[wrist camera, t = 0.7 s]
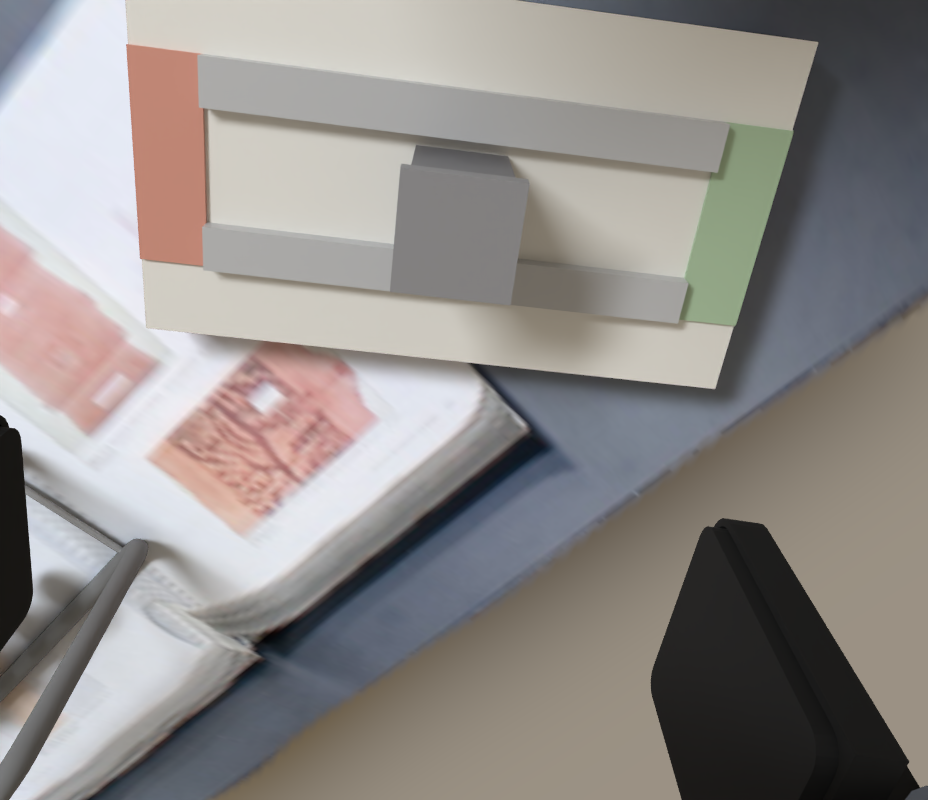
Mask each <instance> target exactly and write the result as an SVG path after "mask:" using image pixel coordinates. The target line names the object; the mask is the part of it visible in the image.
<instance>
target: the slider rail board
mask: <svg viewBox="0 0 928 800" xmlns="http://www.w3.org/2000/svg"><path fill="white" fill-rule="evenodd" d="M125 2H126V18H127V34H128V44H126V46H127V62H128V77H129V93H130V108H131V124H132V139H133V155H134V170H135V186H136V201H137V217H138V232H139V248H140V259H142V269H143V285H144V301H145V316H146V328H150V329H159V330H168V331H178V332H187V333H196V334H206V335H215V336H224V337H234V338H243V339H252V340H262V341H271V342H280V343H290V344H299V345H308V346H318V347H327V348H336V349H346V350H355V351H364V352H374V353H383V354H392V355H402V356H411V357H420V358H430V359H439V360H448V361H458V362H467V363H476V364H486V365H495V366H504V367H514V368H523V369H532V370H542V371H551V372H560V373H570V374H579V375H588V376H598V377H607V378H616V379H626V380H635V381H644V382H654V383H663V384H672V385H682V386H691V387H700V388H710V389H715V388H716V384H717V381H718V378H719V374H720V371H721V368H722V364H723V361H724V358H725V354H726V351H727V348H728V344H729V341H730V338H731V334H732V331H733V327H734V326H736V323H737V320H738V317H739V313H740V310H741V307H742V303H743V300H744V297H745V293H746V290H747V287H748V283H749V280H750V277H751V273H752V270H753V267H754V263H755V260H756V257H757V253H758V250H759V247H760V243H761V240H762V236H763V233H764V230H765V226H766V223H767V220H768V216H769V213H770V210H771V206H772V203H773V200H774V196H775V193H776V190H777V186H778V183H779V180H780V176H781V173H782V170H783V166H784V163H785V160H786V156H787V153H788V150H789V146H790V143H791V140H792V136H793V133H794V131H792V130H793V126H794V123H795V119H796V116H797V113H798V109H799V106H800V103H801V99H802V96H803V93H804V89H805V86H806V83H807V79H808V76H809V73H810V69H811V66H812V62H813V59H814V56H815V52H816V49H817V46H818V42H814V41H807V40H799V39H792V38H785V37H778V36H771V35H763V34H756V33H749V32H742V31H734V30H727V29H720V28H713V27H706V26H698V25H691V24H684V23H677V22H669V21H662V20H655V19H648V18H641V17H633V16H626V15H619V14H612V13H604V12H597V11H590V10H583V9H576V8H568V7H561V6H554V5H547V4H539V3H532V2H525V1H518V0H125ZM416 145H421V146H429V147H437V148H445V149H453V150H461V151H469V152H477V153H485V154H493V155H501V156H508V157H509V160H510V163H511V166H512V169H513V172H514V175H515V178H523V179H528V181H529V183H530V186H529V192H528V198H527V204H526V211H525V217H524V223H523V230H522V236H521V242H520V249H519V255H518V261H517V268H516V274H515V280H514V286H513V293H512V299H511V305H501V304H493V303H484V302H475V301H466V300H457V299H448V298H439V297H430V296H421V295H413V294H404V293H395V292H390V284H391V272H392V260H393V248H394V237H395V225H396V213H397V201H398V189H399V177H400V167H401V164H409V165H411V164H412V159H413V155H414V151H415V147H416Z"/></svg>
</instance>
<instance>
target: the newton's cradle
mask: <svg viewBox="0 0 928 800" xmlns="http://www.w3.org/2000/svg"><path fill="white" fill-rule="evenodd" d="M25 494H26V495H28V496H29V497H31V498H33V499H34V500H36V501H37V502H39V503H40V504H42V505H44V506H45V507H47V508H48V509H50V510H51V511H53V512H55V513H56V514H58V515H59V516H61V517H62V518H64V519H66V520H67V521H69V522H70V523H72V524H73V525H75V526H77V527H78V528H80V529H81V530H83V531H85V532H86V533H88V534H89V535H91V536H92V537H94V538H96V539H97V540H99V541H100V542H102V543H103V544H105V545H107V546H108V547H110V548H111V549H113V550H114V551H116V552H118V553H117V554H116V555H115V556H114V557H113V558H112V559H111V560H110V561H109V563H108V564H107V565H106V566H105V567H104V568H103V569H102V570H101V571H100V572H99V573H98V574H97V575H96V576H95V577H94V578H93V580H92V581H91V582H90V583H89V584H88V585H87V586H86V587H85V588H84V589H83V590H82V591H81V592H80V593H79V594H78V595H77V596H76V598H75V599H74V600H73V601H72V602H71V603H70V604H69V605H68V606H67V607H66V608H65V609H64V610H63V611H62V612H61V613H60V615H59V616H58V617H57V618H56V619H55V620H54V621H53V622H52V623H51V624H50V625H49V626H48V627H47V628H46V629H45V630H44V631H43V633H42V634H41V635H40V636H39V637H38V638H37V639H36V640H35V641H34V642H33V643H32V644H31V645H30V646H29V647H28V648H27V649H26V651H25V652H24V653H23V654H22V655H21V656H20V657H19V658H18V659H17V660H16V661H15V662H14V663H13V664H12V665H11V666H10V668H9V669H8V670H7V671H6V672H5V673H4V674H3V675H2V676H1V677H0V702H1V701H2V700H3V699H4V698H5V697H6V696H7V695H8V694H9V693H10V692H11V691H12V690H13V689H14V688H15V687H16V686H17V684H18V683H19V682H20V681H21V680H22V679H23V678H24V677H25V676H26V675H27V674H28V673H29V672H30V671H31V670H32V669H33V668H34V667H35V666H36V665H37V664H38V663H39V662H40V661H41V660H42V658H43V657H44V656H45V655H46V654H47V653H48V652H49V651H50V650H51V649H52V648H53V647H54V646H55V645H56V644H57V643H58V642H59V641H60V640H61V639H62V638H63V637H64V636H65V635H66V634H67V632H68V631H69V630H70V629H71V628H72V627H73V626H74V625H75V624H76V623H77V622H78V621H79V620H80V619H81V618H82V617H83V616H84V615H85V614H86V613H87V612H88V611H89V610H90V609H91V608H92V606H93V605H94V604H95V605H94V606H93V608H92V610H91V612H90V613H89V615H88V617H87V618H86V620H85V622H84V624H83V625H82V627H81V629H80V630H79V632H78V634H77V635H76V637H75V639H74V641H73V642H72V644H71V646H70V647H69V649H68V651H67V653H66V654H65V656H64V658H63V659H62V661H61V663H60V664H59V666H58V668H57V670H56V671H55V673H54V675H53V676H52V678H51V680H50V682H49V683H48V685H47V687H46V688H45V690H44V692H43V693H42V695H41V697H40V699H39V700H38V702H37V704H36V705H35V707H34V709H33V711H32V712H31V714H30V716H29V717H28V719H27V721H26V722H25V724H24V726H23V728H22V729H21V731H20V733H19V734H18V736H17V738H16V740H15V741H14V743H13V745H12V746H11V748H10V750H9V751H8V753H7V754H6V756H5V758H4V759H3V761H2V762H1V764H0V800H9V799H10V798H11V796H12V795H13V794H14V792H15V791H16V789H17V788H18V787H19V785H20V784H21V782H22V781H23V779H24V778H25V776H26V775H27V773H28V771H29V770H30V768H31V766H32V765H33V763H34V761H35V760H36V758H37V756H38V754H39V752H40V751H41V749H42V747H43V745H44V743H45V741H46V740H47V738H48V736H49V734H50V732H51V730H52V729H53V727H54V725H55V723H56V721H57V719H58V718H59V716H60V714H61V712H62V710H63V708H64V707H65V705H66V703H67V701H68V699H69V697H70V696H71V694H72V692H73V690H74V688H75V686H76V685H77V683H78V681H79V679H80V677H81V675H82V674H83V672H84V670H85V668H86V666H87V664H88V663H89V661H90V659H91V657H92V655H93V653H94V651H95V650H96V648H97V646H98V644H99V642H100V640H101V639H102V637H103V635H104V633H105V631H106V629H107V628H108V626H109V624H110V622H111V620H112V618H113V617H114V615H115V613H116V611H117V609H118V607H119V606H120V604H121V602H122V600H123V598H124V596H125V595H126V593H127V591H128V589H129V587H130V585H131V584H132V582H133V580H134V578H135V576H136V574H137V573H138V571H139V569H140V567H141V565H142V563H143V562H144V560H145V557H146V555H147V552H148V545H147V543H146V542H145V541H144V540H141V539H133V540H131V541H130V542H128V543H127V544H126V545H125V546H124V547H121V546H120V545H118V544H117V543H115V542H114V541H112V540H110V539H109V538H107V537H106V536H104V535H103V534H101V533H99V532H98V531H96V530H95V529H93V528H92V527H90V526H89V525H87V524H85V523H84V522H82V521H81V520H79V519H78V518H76V517H74V516H73V515H71V514H70V513H68V512H67V511H65V510H64V509H62V508H60V507H59V506H57V505H56V504H54V503H53V502H51V501H49V500H48V499H46V498H45V497H43V496H42V495H40V494H39V493H37V492H35V491H34V490H32V489H31V488H29V487H28V486H26V485H25Z"/></svg>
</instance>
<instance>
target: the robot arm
mask: <svg viewBox="0 0 928 800" xmlns="http://www.w3.org/2000/svg"><path fill="white" fill-rule="evenodd" d="M32 596H33V583H32V571H31V558H30V545H29V533H28V520H27V508H26V495H25V483H24V470H23V457H22V445H21V437H20V434H19V432H18V430H16V429H15V428H9V426H8V423H7V421H6V419H5V418H4V417H2V416H1V415H0V651H1V650H2V648H3V647H4V646H5V644H6V643H7V642H8V640H9V639H10V638H11V636H12V635H13V633H14V632H15V631H16V629H17V628H18V627H19V625H20V624H21V623H22V621H23V620H24V618H25V617H26V615H27V613H28V610H29V608H30V605H31V602H32ZM651 693H652V697H653V701H654V704H655V708H656V711H657V715H658V718H659V722H660V725H661V729H662V732H663V736H664V739H665V743H666V746H667V750H668V753H669V757H670V760H671V764H672V767H673V771H674V774H675V778H676V781H677V785H678V788H679V792H680V795H681V799H682V800H928V786H924V787H921V788H920V787H919V785H918V784H917V782H916V781H915V779H914V777H913V776H912V774H911V772H910V771H909V769H908V767H907V764H908V763H909V760H908V759H907V757H906V756H905V754H904V753H903V751H902V749H901V747H900V746H899V744H898V742H897V741H896V739H895V738H894V736H893V734H892V733H891V731H890V729H889V728H888V726H887V724H886V723H885V721H884V719H883V718H882V716H881V715H880V713H879V711H878V710H877V708H876V707H875V705H874V704H873V701H872V700H871V698H870V697H869V695H868V693H867V692H866V690H865V688H864V687H863V685H862V684H861V682H860V680H859V679H858V677H857V675H856V674H855V672H854V670H853V669H852V667H851V666H850V664H849V662H848V661H847V659H846V657H845V656H844V654H843V652H842V651H841V649H840V647H839V646H838V644H837V643H836V641H835V639H834V638H833V636H832V634H831V633H830V631H829V629H828V628H827V626H826V624H825V623H824V621H823V620H822V618H821V616H820V615H819V613H818V611H817V610H816V608H815V606H814V605H813V603H812V601H811V600H810V598H809V597H808V595H807V593H806V592H805V590H804V589H803V587H802V585H801V583H800V582H799V580H798V579H797V577H796V575H795V574H794V572H793V570H792V569H791V567H790V565H789V564H788V562H787V561H786V559H785V557H784V556H783V554H782V553H781V551H780V549H779V548H778V546H777V544H776V542H775V541H774V539H773V538H772V536H771V534H770V533H769V531H768V529H767V528H766V527H765V526H764V525H763V524H759V523H752V522H745V521H738V520H731V519H724V518H723V519H720V520H719V521H718V522H717V523H716V524H715V526H714V527H706V528H704V530H703V531H702V533H701V535H700V538H699V540H698V543H697V546H696V549H695V552H694V554H693V557H692V560H691V563H690V566H689V568H688V571H687V574H686V577H685V580H684V582H683V585H682V588H681V591H680V594H679V597H678V599H677V602H676V605H675V608H674V611H673V613H672V616H671V619H670V622H669V624H668V627H667V630H666V633H665V636H664V638H663V641H662V644H661V647H660V650H659V652H658V655H657V658H656V661H655V664H654V667H653V670H652V676H651Z"/></svg>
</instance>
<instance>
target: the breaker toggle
mask: <svg viewBox="0 0 928 800" xmlns="http://www.w3.org/2000/svg"><path fill="white" fill-rule="evenodd" d="M529 186H530V183H529V181H528V179H523V178H515V175H514V172H513V169H512V166H511V163H510V160H509V157H508V156H501V155H493V154H485V153H477V152H469V151H461V150H453V149H445V148H437V147H429V146H421V145H416V147H415V151H414V155H413V159H412V164H411V165H409V164H401V167H400V177H399V189H398V201H397V213H396V225H395V237H394V248H393V260H392V272H391V284H390V292H395V293H404V294H413V295H421V296H430V297H439V298H448V299H457V300H466V301H475V302H484V303H493V304H501V305H511V299H512V293H513V286H514V280H515V274H516V268H517V261H518V255H519V249H520V242H521V236H522V230H523V223H524V217H525V211H526V204H527V198H528V192H529Z"/></svg>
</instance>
